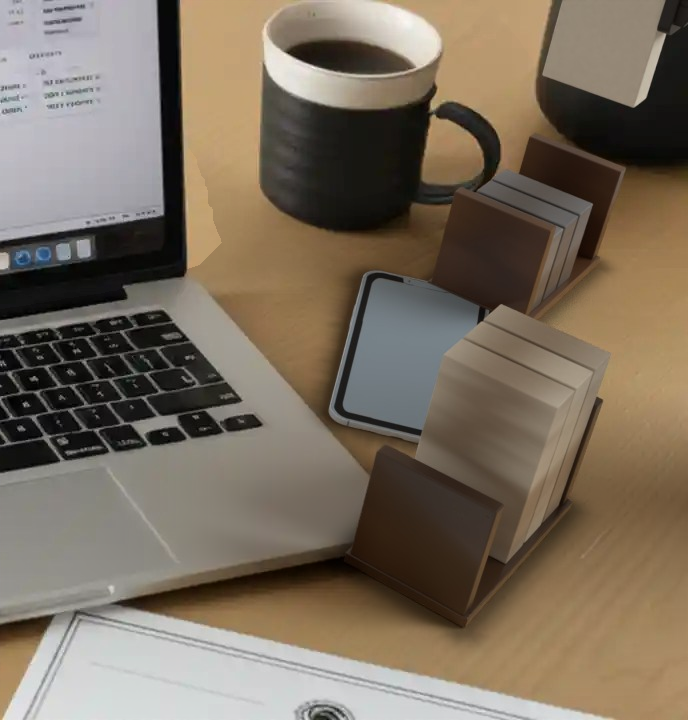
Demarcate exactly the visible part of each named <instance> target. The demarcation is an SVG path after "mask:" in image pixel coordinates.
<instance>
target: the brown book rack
mask: <svg viewBox="0 0 688 720" xmlns="http://www.w3.org/2000/svg"><path fill="white" fill-rule="evenodd" d="M611 357H612V352H609V351H607V350H605V349H604V348H601V347H599V346H596V345H594V344H592V343H590V342H588V341H586V340H583V339H581V338H579V337H576V336H575V335H572V334H569V333H568V332H565V331H563V330H560V329H559V328H556V327H553V326H551V325H550V324H547V323H544V322H543V321H540V320H539V319H538V320H536V319H534V318H531V317H529V316H527V315H525V314H522V313H520V312H518V311H516V310H513V309H511V308H509V307H507V306H504V305H502V304H501V305H499V306H498V307H497V308H496V309H495V310H494V311H493V312H491V313H490V314H489V315H488V316H487V317H486V318H485V319H484V321H483V322H480V323H479V324H478V325H477V326H476V327H475V328H473V329H472V330H471V331H470V332H469V333H468V334H467V335H465V336H464V339H461V340H460V341H458V342H457V343H456V344H455V345H454V346H453V347H452V348H450V349H449V350H448V351H447V352H446V353H445V354H444V355H443V358H442V362H441V365H440V369H439V372H438V376H437V380H436V383H435V387H434V390H433V394H432V398H431V401H430V405H429V408H428V412H427V416H426V419H425V423H424V426H423V430H422V434H421V437H420V441H419V443H417V444H418V445H417V448H416V451H415V455H414V457H412V456H410V455H408V454H406V453H405V452H402V451H400V450H398V449H396V448H394V447H392V446H390V445H388V444H387V443H385V444H383V445H382V446H381V447H380V448H378V450H377V451H376V452H375V456H374V460H373V464H372V468H371V470H370V474H369V479H368V483H367V487H366V491H365V494H364V499H363V503H362V505H361V510H360V514H359V518H358V522H357V526H356V530H355V533H354V537H353V541H352V545H351V547H350V548H349V549H347V551H346V552H345V556H344V559H343V562H344V563H346V564H348V565H349V566H351V567H353V568H354V569H357V570H358V571H360V572H362V573H364V574H365V575H367V576H369V577H371V578H373V579H375V580H376V581H378V582H379V583H382V584H384V585H385V586H387V587H389V588H391V589H393V590H395V591H396V592H398V593H400V594H402V595H403V596H405V597H408V598H409V599H410V600H412V601H414V602H416V603H418V604H420V605H422V606H423V607H425V608H427V609H429V610H431V611H432V612H434V613H436V614H438V615H440V616H442V617H444V618H445V619H447V620H449V621H451V622H452V623H454V624H456V625H458V626H460V627H461V628H464V629H465V628H466V627H467V626H468V625H469V624H470V623H471V621H472V620H474V618H476V616H477V615H478V613H480V611H481V610H482V609H483V608H484V607H485V606H486V605H487V604H488V602H489V601H490V600H491V599H492V598H493V597H494V595H495V594H496V593H497V592H498V591H499V590H500V589H501V588H502V587H503V586H504V585H505V583H506V582H507V581H508V580H509V579H510V577H512V575H513V574H514V573H515V572H516V571H517V569H518V568H519V567H520V566H521V565H523V563H524V562H525V561H526V559H527V558H528V557H529V556H530V555H531V554H532V553H533V551H535V549H536V548H537V547H538V546H539V545H540V543H541V542H542V541H543V540H544V539H545V538H546V537H547V536H548V535H549V533H550V532H551V531H553V529H554V528H555V526H556V525H557V524H558V523H559V522H560V521H561V520H562V519H563V518H564V516H566V514H567V513H568V512H569V511H570V510H571V506H572V504H573V500H572V499H570V497H571V494H572V490H573V488H574V485H575V483H576V480H577V478H578V474H579V471H580V469H581V465H582V463H583V460H584V457H585V454H586V452H587V449H588V446H589V443H590V440H591V437H592V434H593V432H594V429H595V426H596V423H597V420H598V418H599V416H600V412H601V409H602V406H603V403H604V399H603V398H601V397H599V396H598V394H599V391H600V388H601V385H602V382H603V380H604V378H605V377H604V376H605V374H606V371H607V368H608V365H609V362H610V359H611Z"/></svg>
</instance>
